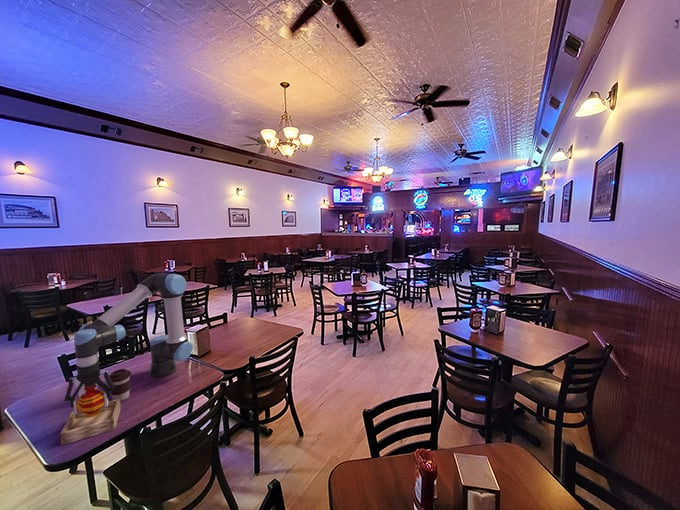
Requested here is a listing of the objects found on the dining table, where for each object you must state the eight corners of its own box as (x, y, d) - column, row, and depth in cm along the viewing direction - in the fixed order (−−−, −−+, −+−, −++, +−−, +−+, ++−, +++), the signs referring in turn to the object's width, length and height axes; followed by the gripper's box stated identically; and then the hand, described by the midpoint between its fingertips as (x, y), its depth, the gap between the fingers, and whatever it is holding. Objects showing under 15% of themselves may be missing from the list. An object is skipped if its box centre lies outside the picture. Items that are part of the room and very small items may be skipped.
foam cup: (86, 405, 146) (83, 382, 145) (72, 403, 148) (69, 380, 147) (104, 394, 156) (102, 372, 154) (91, 392, 157) (89, 370, 156)
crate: (120, 407, 145) (119, 398, 144) (114, 429, 129) (113, 419, 129) (73, 420, 136) (72, 409, 135) (61, 445, 120) (60, 433, 120)
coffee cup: (136, 394, 156) (134, 369, 154) (117, 405, 146) (115, 378, 145) (124, 391, 159) (122, 366, 157) (105, 401, 150) (102, 374, 148)
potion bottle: (89, 407, 137) (86, 378, 135) (112, 406, 137) (109, 377, 136) (71, 422, 126) (67, 391, 125) (95, 421, 127) (92, 390, 125)
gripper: (120, 354, 138) (123, 397, 140) (56, 366, 127) (61, 412, 129) (117, 360, 132) (121, 405, 134) (50, 373, 120) (56, 422, 123)
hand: (92, 408), depth 132 cm, fingers closed on potion bottle, 10 cm apart
